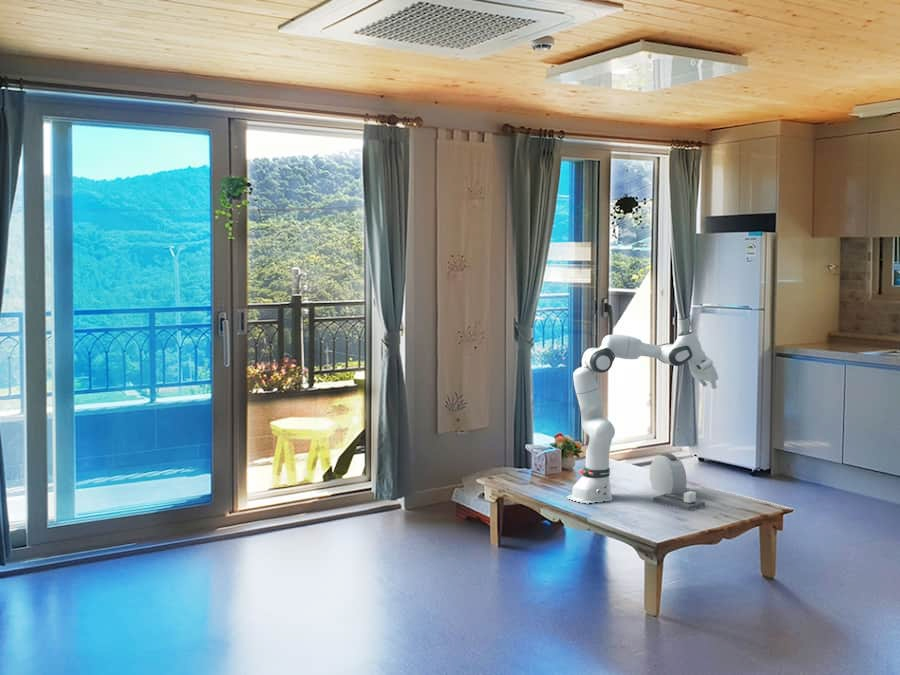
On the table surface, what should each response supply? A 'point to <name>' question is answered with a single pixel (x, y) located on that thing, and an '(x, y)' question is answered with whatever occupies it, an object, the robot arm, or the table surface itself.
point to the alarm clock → (668, 474)
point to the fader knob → (689, 496)
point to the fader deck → (677, 501)
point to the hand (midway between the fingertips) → (709, 387)
